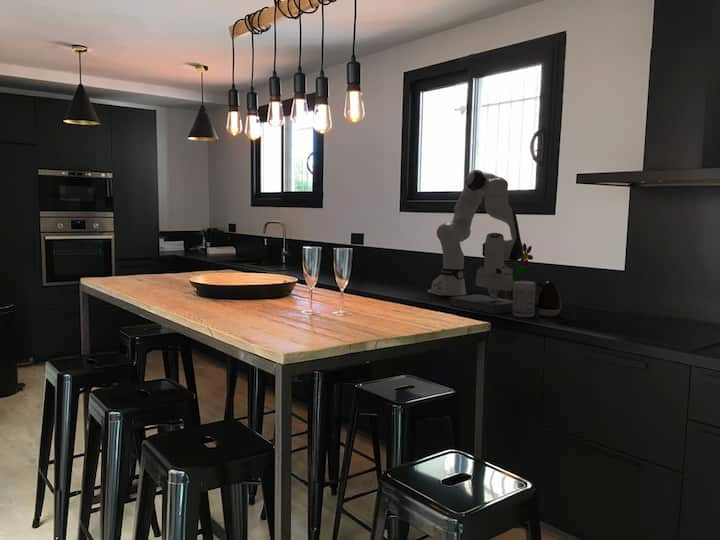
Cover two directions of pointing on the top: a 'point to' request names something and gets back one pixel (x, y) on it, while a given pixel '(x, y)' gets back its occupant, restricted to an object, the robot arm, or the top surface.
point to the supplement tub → (524, 298)
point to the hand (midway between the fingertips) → (493, 298)
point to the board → (483, 303)
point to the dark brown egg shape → (549, 299)
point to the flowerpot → (521, 268)
